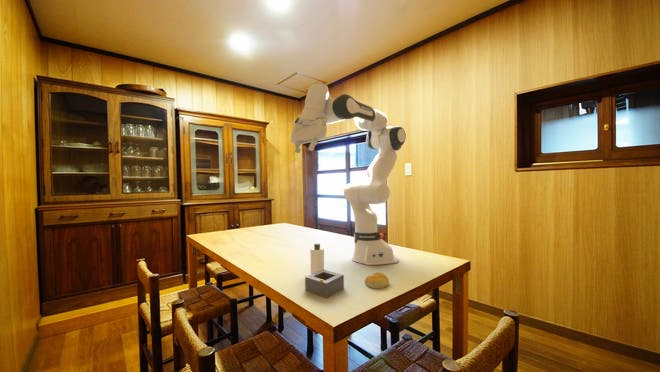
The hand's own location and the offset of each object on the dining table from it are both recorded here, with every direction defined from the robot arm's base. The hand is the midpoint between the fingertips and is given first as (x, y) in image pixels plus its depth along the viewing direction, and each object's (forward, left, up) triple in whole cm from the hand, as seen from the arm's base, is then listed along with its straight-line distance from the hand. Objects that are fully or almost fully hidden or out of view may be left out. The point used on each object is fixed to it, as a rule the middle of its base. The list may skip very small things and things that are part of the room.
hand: (303, 151), depth 106 cm
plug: (-5, -4, -52) cm, 52 cm away
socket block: (-8, +11, -52) cm, 53 cm away
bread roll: (-28, +7, -52) cm, 59 cm away
